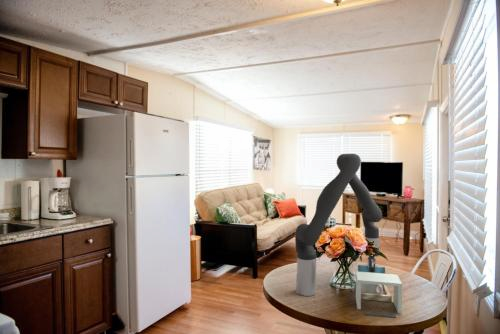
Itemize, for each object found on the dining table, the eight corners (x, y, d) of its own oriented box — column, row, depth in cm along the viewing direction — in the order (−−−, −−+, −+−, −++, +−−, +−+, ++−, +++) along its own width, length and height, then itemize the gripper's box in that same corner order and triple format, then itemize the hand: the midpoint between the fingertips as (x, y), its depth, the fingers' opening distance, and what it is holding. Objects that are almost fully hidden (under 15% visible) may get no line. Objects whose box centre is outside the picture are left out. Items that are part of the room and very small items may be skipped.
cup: (387, 298, 160) (387, 281, 160) (376, 301, 156) (377, 284, 156) (368, 290, 169) (368, 274, 169) (357, 294, 165) (357, 277, 165)
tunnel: (357, 308, 148) (357, 280, 148) (355, 298, 160) (355, 271, 160) (401, 313, 144) (402, 283, 144) (396, 302, 155) (397, 274, 155)
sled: (360, 298, 159) (361, 279, 159) (357, 281, 182) (358, 264, 182) (391, 302, 156) (391, 282, 156) (384, 283, 179) (384, 266, 179)
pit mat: (365, 314, 143) (365, 313, 143) (364, 312, 145) (364, 311, 145) (396, 318, 140) (396, 317, 140) (395, 315, 142) (395, 314, 142)
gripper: (363, 242, 187) (362, 273, 187) (365, 248, 174) (364, 282, 174) (377, 243, 185) (377, 275, 185) (380, 249, 172) (380, 283, 172)
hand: (371, 278), depth 180 cm, fingers closed on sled
